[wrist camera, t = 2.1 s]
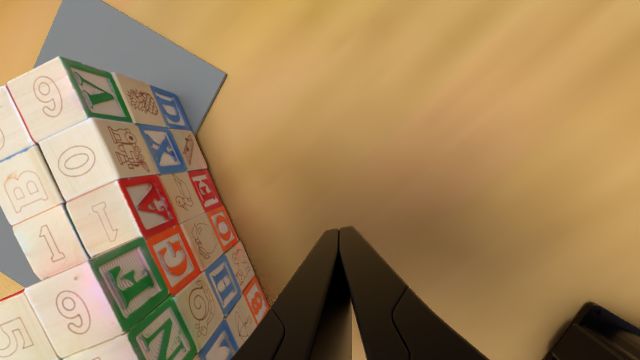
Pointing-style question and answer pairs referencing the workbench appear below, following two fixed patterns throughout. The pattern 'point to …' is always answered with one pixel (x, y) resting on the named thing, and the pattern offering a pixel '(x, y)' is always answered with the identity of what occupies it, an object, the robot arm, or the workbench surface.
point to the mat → (123, 58)
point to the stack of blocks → (116, 225)
